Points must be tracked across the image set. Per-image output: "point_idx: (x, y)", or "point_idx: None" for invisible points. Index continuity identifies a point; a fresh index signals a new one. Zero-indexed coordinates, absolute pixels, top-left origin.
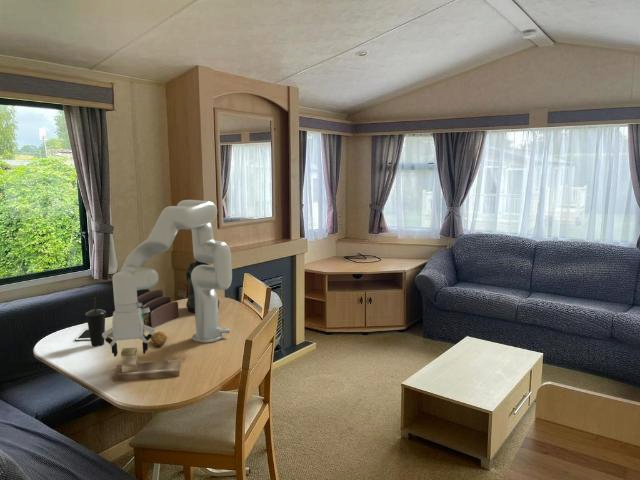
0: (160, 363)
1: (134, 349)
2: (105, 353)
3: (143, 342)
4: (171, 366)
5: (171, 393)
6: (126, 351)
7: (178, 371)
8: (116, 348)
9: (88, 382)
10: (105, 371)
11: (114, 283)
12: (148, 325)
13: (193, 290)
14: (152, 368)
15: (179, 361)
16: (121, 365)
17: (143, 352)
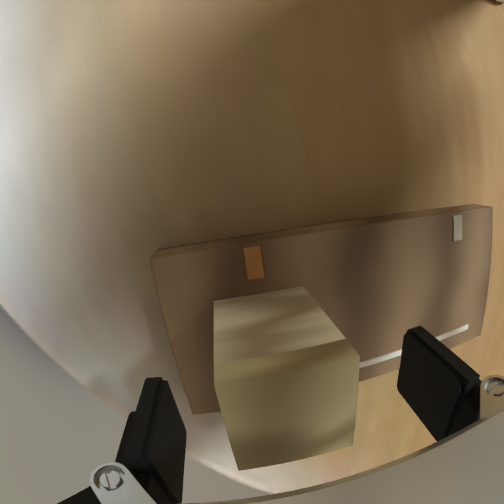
0: (424, 252)
1: (344, 403)
2: (37, 14)
3: (452, 432)
4: (464, 294)
5: (424, 438)
6: (278, 445)
7: (476, 333)
8: (169, 446)
9: (82, 384)
10: (93, 263)
11: None
12: None
13: None
14: (390, 321)
15: (490, 231)
16: (184, 271)
17: (403, 392)
